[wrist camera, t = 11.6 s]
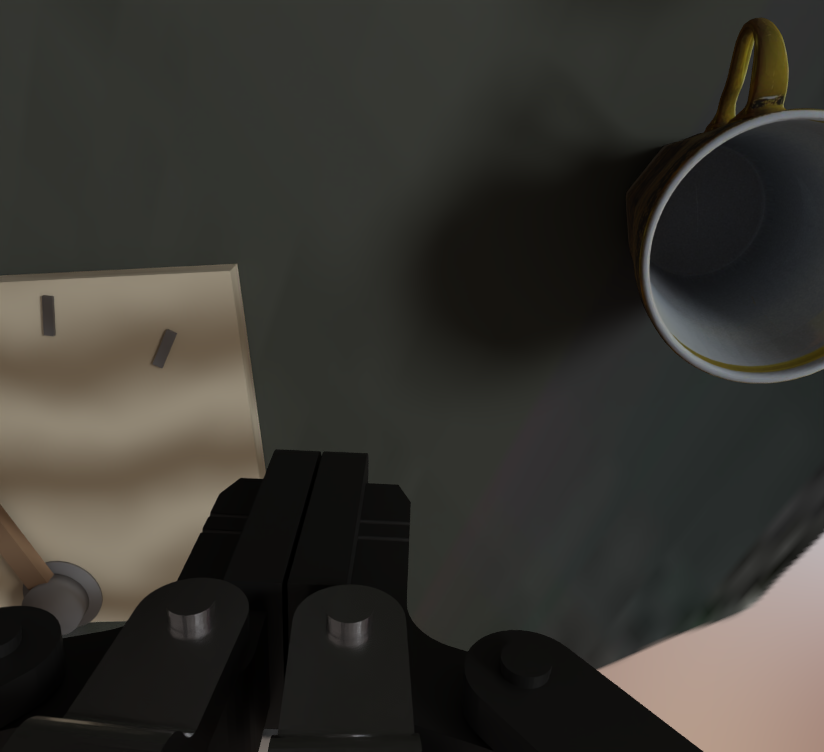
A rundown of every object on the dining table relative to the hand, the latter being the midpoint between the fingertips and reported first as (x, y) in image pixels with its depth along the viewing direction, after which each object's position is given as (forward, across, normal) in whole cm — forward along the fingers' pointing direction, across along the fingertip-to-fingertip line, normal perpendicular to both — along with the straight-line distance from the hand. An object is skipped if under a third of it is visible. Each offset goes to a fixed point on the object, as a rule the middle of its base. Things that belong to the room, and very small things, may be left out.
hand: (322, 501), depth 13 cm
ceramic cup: (+27, -14, -2) cm, 31 cm away
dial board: (+27, +19, +14) cm, 35 cm away
